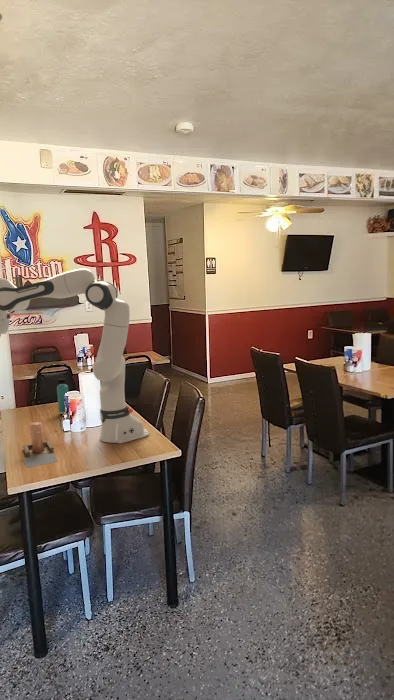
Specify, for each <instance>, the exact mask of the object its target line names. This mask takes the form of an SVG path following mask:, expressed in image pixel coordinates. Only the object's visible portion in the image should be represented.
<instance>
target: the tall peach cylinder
mask: <svg viewBox="0 0 394 700" xmlns="http://www.w3.org/2000/svg"><path fill="white" fill-rule="evenodd" d="M29 431H30V440H31V443H30V444H32V452H34V453H38V452H42V451H44V450H45V449H44V441H45V440H44V430H43V422H41V421H36V422H35V421H34V422H31V423H29Z"/></svg>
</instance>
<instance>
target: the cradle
mask: <svg viewBox="0 0 394 700" xmlns="http://www.w3.org/2000/svg"><path fill="white" fill-rule="evenodd" d="M22 448H23V452H24V453H25V458H27V457H32V456H37V455H42V454H47V453H52V452H53V453H55V451H54V446H53V444H52V442H51V441H50V440H44V449H45V450H44V451H42V452H38V453H34V452H32V443H29V444H24V445H23V447H22Z"/></svg>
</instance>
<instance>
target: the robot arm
mask: <svg viewBox="0 0 394 700" xmlns="http://www.w3.org/2000/svg"><path fill="white" fill-rule="evenodd" d="M94 275H95V274H94V273H93V272H92V271H91V270H90V269H88V268H77V269H72V270H69V271H65V272H61V273H59V274H56V275H54V276H51V277H49V278H47V279H43V280H41V281H38V282H34V283H31V284H26V285H21V286H18V287H17V286H16V285H15V284H13V283H12V281H11V280H10V279H8V278H0V337H2V335H5V334H6V333H7V332H8V330H9V327H10V320H11V318H12V315H11V314H10V313H9V312H8V311H11V312H13V311H15V312H22V311H25V310H26V309H28V307H29V306H30V303H31V301H32V300H34V299H38V298H39V299H40V298H50V299H51V298H52V299H67V298H72V297H76V296H79V295H82V294H83V295H84V296H85V299H86V301H87V302H88V303H89V304H90V305H91V306H94V307H95V308H98V309H100V310H101V311H104V318H103V319H104V320H103V327H102V334H101V339H100V345H99V347H98V351H97V354H96V359H95V362H94V365H93V369H92V370H93V371H92V372H93V376H94V378H96V379H97V380H98V381H99V382H100V390H99V402H100V409H99V416H100V421H101V426H100V427H101V429H100V436H99V441H101V442H102V443H103V442H104V443H111V444H112V443H113V444H114V443H115V444H124V443H127V442H131V441H135V440H139V439H142V438H145V437H148V436H149V434H150V432H149V430H148V429H146V428H144V426H143V425H144V424H143V422H142V421H141V419H139V418H138V417H136V416H135V415H133V414H132V413H133V411H134V409H133V408H131V407H129V406H126V399H125V398H126V396H125V395H126V393H125V385H126V384H125V382H126V358H125V357H124V356H123V354H124V351H125V347H126V345H127V338H128V333H129V327H130V306H129V304H128V303H127V301H125V300H122V299H118V295H119V293H118V289H117V287H116V286H115V285H114V284H113V283H111V282H108V281H104V280H100V279H98V280H97V279H96V277H95V276H94Z"/></svg>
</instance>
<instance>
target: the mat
mask: <svg viewBox="0 0 394 700" xmlns="http://www.w3.org/2000/svg"><path fill="white" fill-rule="evenodd" d="M22 459H23V462H24V465H25V468H26V469H27V468H33V467H37V466H43V465H46V464H47V465H48V464H52V463H56V462H58V459H57V458H56V455H55V454H54V452H51V453H46V454H41V455H36V456H31V457H23V458H22Z"/></svg>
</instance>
